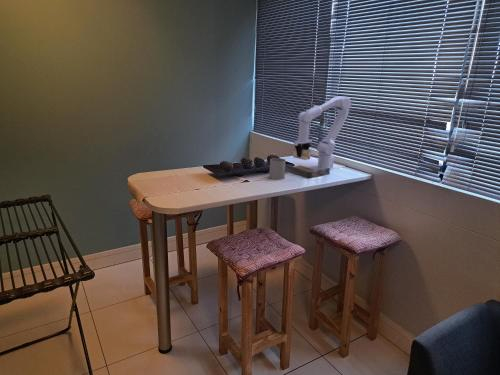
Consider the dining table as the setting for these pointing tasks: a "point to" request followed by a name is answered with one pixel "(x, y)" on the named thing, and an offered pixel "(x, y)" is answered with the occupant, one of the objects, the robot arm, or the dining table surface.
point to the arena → (307, 171)
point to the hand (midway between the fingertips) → (301, 156)
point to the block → (304, 155)
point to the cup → (277, 168)
